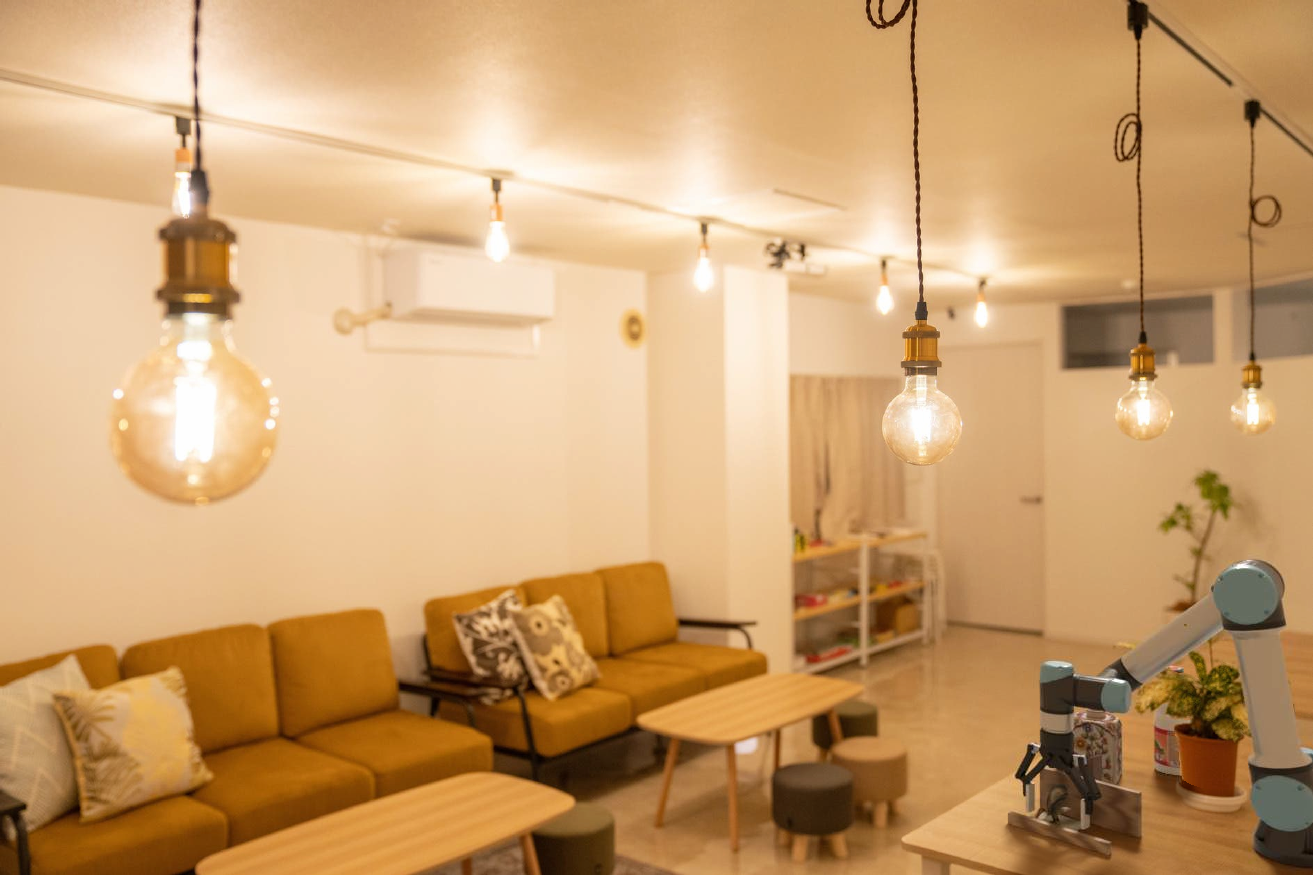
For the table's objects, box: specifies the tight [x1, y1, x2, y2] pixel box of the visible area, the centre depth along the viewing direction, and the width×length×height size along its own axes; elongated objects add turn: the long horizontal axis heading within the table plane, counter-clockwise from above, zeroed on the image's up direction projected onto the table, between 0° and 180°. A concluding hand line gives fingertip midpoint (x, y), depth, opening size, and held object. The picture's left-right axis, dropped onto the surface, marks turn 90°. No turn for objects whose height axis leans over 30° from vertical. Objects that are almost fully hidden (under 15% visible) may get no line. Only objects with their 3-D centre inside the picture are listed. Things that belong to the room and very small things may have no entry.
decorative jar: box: [1073, 708, 1123, 785], centre depth 273 cm, size 12×12×18 cm
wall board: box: [1007, 766, 1143, 856], centre depth 237 cm, size 24×16×10 cm, turn 40°
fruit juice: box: [1153, 665, 1190, 775], centre depth 276 cm, size 9×9×28 cm
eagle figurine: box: [1038, 784, 1071, 826], centre depth 239 cm, size 8×7×9 cm
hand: (1057, 819), depth 240 cm, fingers open, 13 cm apart
